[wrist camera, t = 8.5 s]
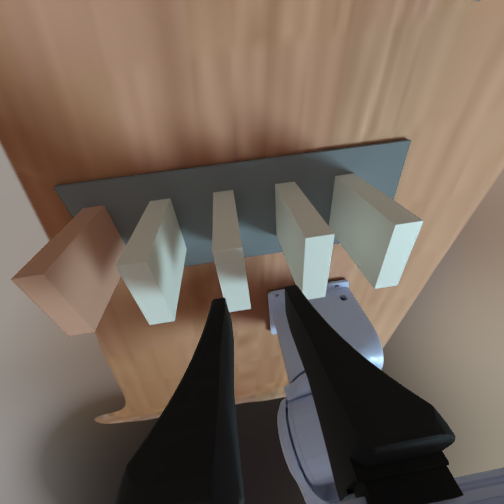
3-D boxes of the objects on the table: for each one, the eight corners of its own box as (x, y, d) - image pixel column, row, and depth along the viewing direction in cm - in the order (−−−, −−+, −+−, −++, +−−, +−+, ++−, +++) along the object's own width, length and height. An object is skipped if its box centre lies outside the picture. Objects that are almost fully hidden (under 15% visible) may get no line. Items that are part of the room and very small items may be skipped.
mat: (407, 139, 18) (411, 140, 18) (380, 234, 24) (382, 236, 24) (56, 185, 17) (53, 187, 17) (111, 274, 23) (110, 277, 22)
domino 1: (170, 198, 18) (146, 261, 12) (186, 248, 21) (174, 320, 15) (149, 201, 18) (115, 266, 12) (169, 251, 21) (149, 324, 15)
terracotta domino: (104, 205, 18) (43, 274, 12) (130, 255, 21) (94, 332, 15) (83, 208, 18) (10, 279, 12) (113, 258, 21) (68, 336, 15)
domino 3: (294, 181, 19) (334, 233, 12) (293, 233, 22) (325, 296, 16) (274, 183, 19) (305, 238, 12) (276, 235, 22) (301, 300, 15)
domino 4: (354, 173, 19) (423, 220, 13) (344, 225, 22) (397, 285, 16) (335, 175, 19) (395, 224, 13) (328, 228, 22) (374, 288, 16)
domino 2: (233, 189, 19) (242, 247, 12) (240, 241, 22) (251, 308, 15) (213, 192, 19) (212, 252, 12) (223, 243, 22) (227, 312, 15)
